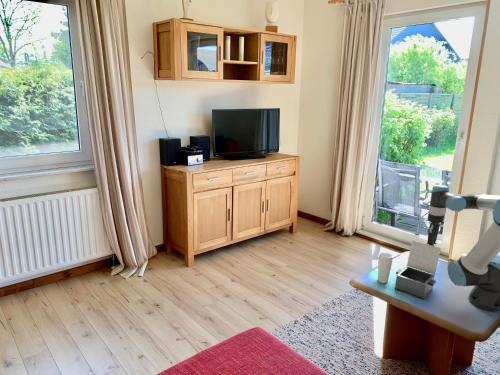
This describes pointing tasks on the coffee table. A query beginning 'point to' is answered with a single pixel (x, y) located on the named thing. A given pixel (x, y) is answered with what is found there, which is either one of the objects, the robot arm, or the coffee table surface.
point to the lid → (423, 257)
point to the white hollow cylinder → (384, 267)
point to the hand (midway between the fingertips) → (429, 255)
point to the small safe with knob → (414, 282)
